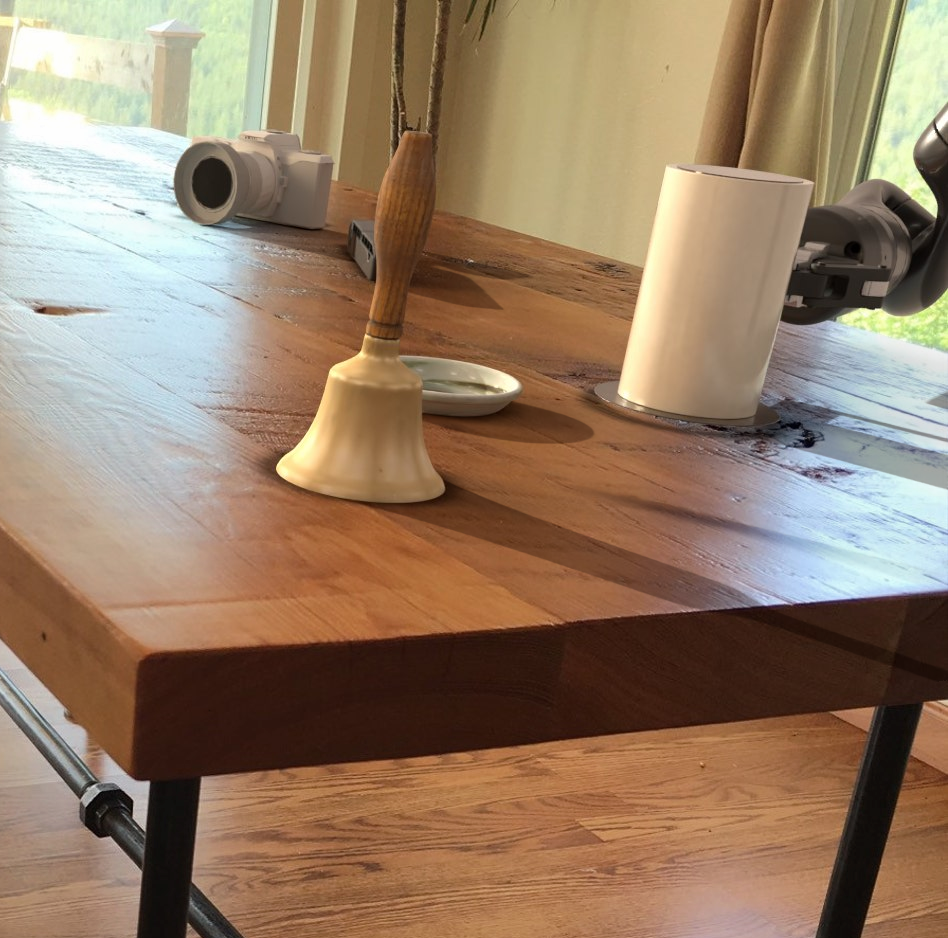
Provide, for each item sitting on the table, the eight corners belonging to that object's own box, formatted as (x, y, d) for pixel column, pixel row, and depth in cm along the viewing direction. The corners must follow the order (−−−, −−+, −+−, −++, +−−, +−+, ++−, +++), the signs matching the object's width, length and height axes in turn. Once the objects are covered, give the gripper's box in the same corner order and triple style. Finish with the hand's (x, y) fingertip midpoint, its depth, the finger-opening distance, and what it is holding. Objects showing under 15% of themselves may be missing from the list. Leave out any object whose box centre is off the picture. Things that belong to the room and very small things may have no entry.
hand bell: (379, 456, 85) (430, 124, 78) (480, 504, 78) (545, 147, 71) (242, 464, 81) (282, 116, 74) (336, 515, 75) (390, 139, 68)
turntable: (773, 413, 103) (777, 398, 103) (780, 452, 94) (784, 435, 93) (595, 387, 106) (598, 371, 105) (585, 422, 96) (588, 405, 96)
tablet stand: (345, 250, 152) (349, 216, 151) (372, 252, 152) (377, 218, 151) (368, 282, 136) (373, 244, 135) (399, 285, 136) (404, 247, 135)
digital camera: (128, 247, 166) (118, 141, 163) (227, 237, 175) (220, 136, 172) (245, 236, 154) (236, 121, 151) (345, 226, 163) (339, 117, 160)
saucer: (317, 395, 97) (323, 353, 95) (460, 395, 100) (466, 354, 99) (396, 439, 89) (403, 394, 88) (548, 437, 92) (556, 394, 91)
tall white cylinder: (729, 426, 94) (788, 185, 89) (595, 396, 98) (644, 164, 93) (797, 397, 104) (854, 178, 98) (672, 371, 108) (721, 159, 102)
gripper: (742, 190, 115) (649, 201, 102) (944, 221, 108) (871, 236, 95) (716, 301, 118) (622, 324, 105) (910, 337, 111) (836, 367, 98)
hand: (741, 282), depth 100 cm, fingers closed
